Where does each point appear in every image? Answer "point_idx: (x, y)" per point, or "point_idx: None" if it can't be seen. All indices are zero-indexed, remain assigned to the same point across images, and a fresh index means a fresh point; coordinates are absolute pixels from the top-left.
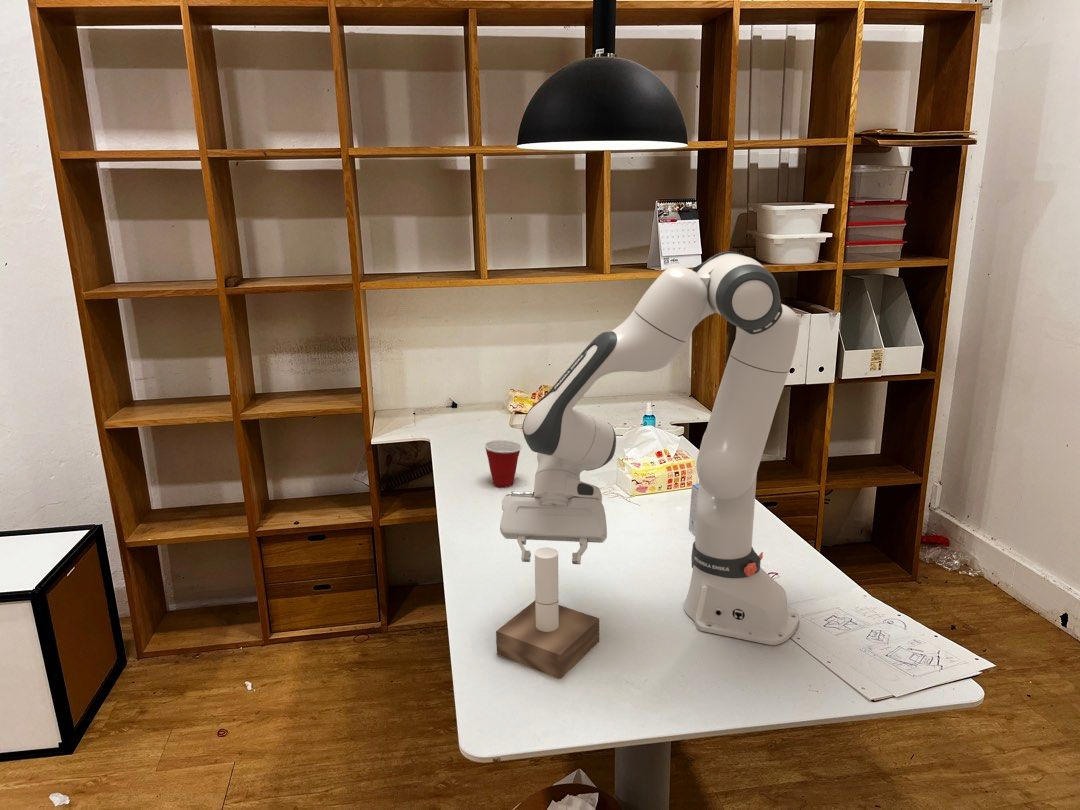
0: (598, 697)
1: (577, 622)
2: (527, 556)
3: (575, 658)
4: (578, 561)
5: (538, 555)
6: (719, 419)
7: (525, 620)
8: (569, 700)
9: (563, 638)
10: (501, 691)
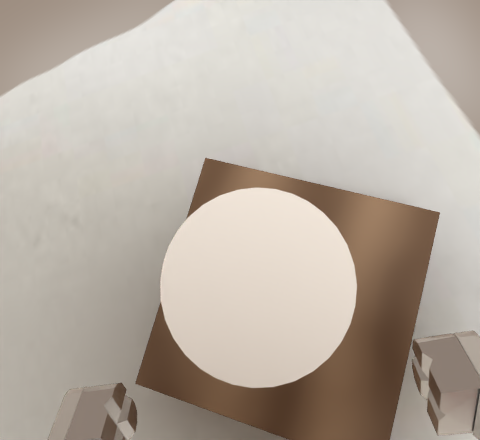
0: (126, 149)
1: None
2: (435, 348)
3: None
4: (77, 388)
5: (303, 220)
6: None
7: (368, 302)
8: (182, 119)
9: None
10: (340, 96)
